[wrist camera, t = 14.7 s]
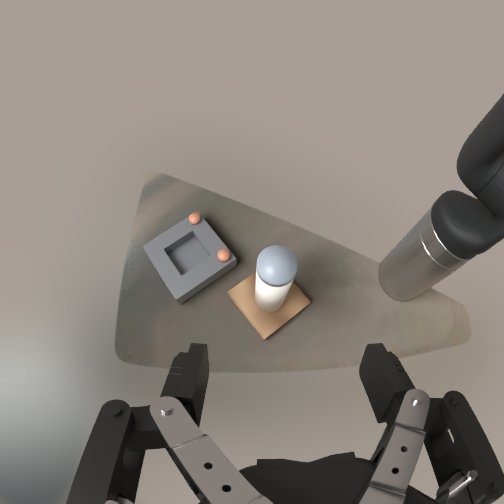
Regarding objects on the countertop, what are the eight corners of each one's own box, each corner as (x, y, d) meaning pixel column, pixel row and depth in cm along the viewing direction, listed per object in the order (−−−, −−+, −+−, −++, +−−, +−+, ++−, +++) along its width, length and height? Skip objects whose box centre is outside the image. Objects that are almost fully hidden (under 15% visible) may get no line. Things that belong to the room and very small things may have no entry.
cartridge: (271, 279, 42) (280, 238, 31) (289, 300, 41) (306, 267, 29) (248, 295, 41) (248, 260, 30) (266, 318, 40) (274, 291, 28)
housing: (199, 219, 48) (196, 207, 45) (236, 265, 44) (236, 255, 41) (147, 253, 45) (140, 243, 42) (179, 304, 41) (174, 297, 38)
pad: (272, 261, 45) (273, 259, 44) (309, 303, 42) (310, 302, 41) (227, 294, 42) (227, 292, 41) (264, 339, 39) (264, 338, 38)
